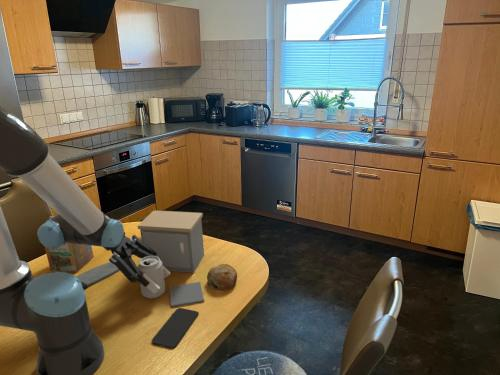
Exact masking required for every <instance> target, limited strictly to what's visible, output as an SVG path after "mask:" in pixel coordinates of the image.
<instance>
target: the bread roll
mask: <svg viewBox="0 0 500 375" xmlns="http://www.w3.org/2000/svg"><path fill="white" fill-rule="evenodd" d="M206 278H207V282H208V283H207V284H208V286H210V287H209V288H211V289H214V290H220V291H229V290H231V289H232V288H235V286H236V284H237V280H238V273H237V270H236V268H234V267H233V266H231V265H230V264H227V263H221V264H219V265H216V266H213V267H211V268H210V269H209V271H208V273H207V276H206Z"/></svg>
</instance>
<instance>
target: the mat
mask: <svg viewBox="0 0 500 375" xmlns="http://www.w3.org/2000/svg"><path fill="white" fill-rule="evenodd" d="M169 299H170V307H171V308H176V307H181V306H186V305H187V306H188V305H193V304H198V303H199V304H200V303H203V302H205V298H204V292H203V288H202V284H201V281H198V282H197V281H196V282H191V283H185V284H179V285H173V286H169Z"/></svg>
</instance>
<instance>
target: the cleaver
mask: <svg viewBox="0 0 500 375" xmlns="http://www.w3.org/2000/svg"><path fill="white" fill-rule="evenodd" d="M118 272H120V270H119V269H118V268H117V267H116V266H115V265H114V264H113V263H111V262H110V261H109V262H106V263H103V264H100V265H98V266H95V267H93V268H91V269H88V270H86V271H84V272H81V273H80V274H78V275H75V276H76V277H77V278H78V279H79V280H80V282H81V284H82V288H83V289H84V291H85V290H86V289H88V287H91V285H93V284H95V283H98V282H100V281H102V280H104V279H107V278H108V277H110V276H112V275H114V274H116V273H118Z"/></svg>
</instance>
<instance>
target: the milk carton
mask: <svg viewBox="0 0 500 375" xmlns="http://www.w3.org/2000/svg"><path fill="white" fill-rule="evenodd" d="M53 217H54V216H51V215H50V216H49V218H48V220H50V219H51V218H53ZM44 249H45V253H46V259H47V261H48V266H49V270H50V271H51V272H66V273H75V274H77V273H79V272H80V271H81V270H83V268H85V266H86V265H87V264H88V263H90V262H91V261H92V260H93V259H94V258H95V256H94V252H93V247H92V245H84V244H73V243H64V244H63V245H62V246H60V247H58V248H56V249H50V248H47V247H45V246H44Z"/></svg>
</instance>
